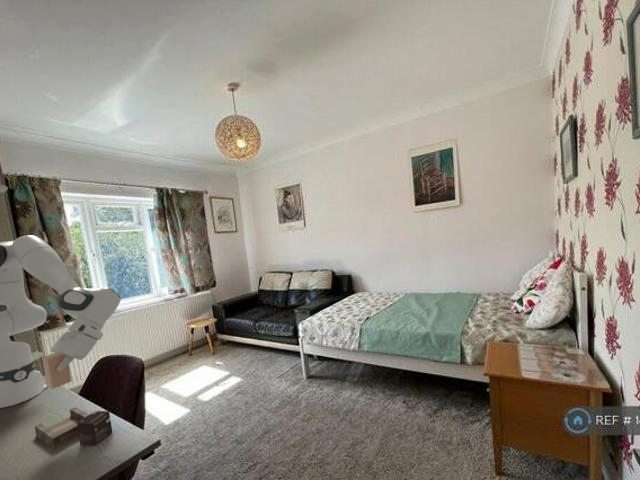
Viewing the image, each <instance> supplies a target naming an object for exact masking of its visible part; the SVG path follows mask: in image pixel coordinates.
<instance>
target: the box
mask: <svg viewBox="0 0 640 480" xmlns="http://www.w3.org/2000/svg"><path fill="white" fill-rule="evenodd" d="M89 414H90V415H88V416H86V417H85V418H84V419H82V420H81V421H79V422H78V423H77V427H78V433H79V436H78V438H79V439H78V440H79V445H80V446H93V447H96V446H97V445H99V444H100V443H101V442H103V441H104V440H105V439H106V438H108V437H109V436H110V435H112V433H113V427H112V421H111V416H110V411H108V410H104V411H103V410H96V411H93V412H91V413H89Z"/></svg>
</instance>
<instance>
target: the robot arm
mask: <svg viewBox="0 0 640 480" xmlns="http://www.w3.org/2000/svg"><path fill="white" fill-rule="evenodd" d="M23 270H25V272H27V273H28V274H30V275H31V276H32V277H33V278H35V279H37V280H39V281H40V282H42V283H44V284H46V285H47V286H48V287H51V288H52V289H53V290H55V291H56V292H57V293H59V295H60V296H59V298H58V301H57V302H58V304H57V305H58V307H59V308H60V309H61V310H62V311H63V312H65V313H66V314H67V315H69V316H70V317H72V318H73V320H74V321H73V322H72V323H71V324H70V326H69V327H68V329H67V330H68V331H65V332H64V333H63V334H61V336H60V337H58V339H57V340H56V342H54V343H53V345H52V347H51V348H50V352H51V353H53V354H54V353H57V352H59V353H62V354H64V355H66V356H65V358H64V360H63V361H62V362H61V363H60V364H58V365H57V367H56V368H55V370H58V371H63V369H64V368H65V367H66V366H67V365H68V364H69V365H70V364H71V363H72V361H73V360H74V359H75V360H79V361H82V360H83V359H85V358H86V357H87V355H88V354H89V353H90V352H91V351H92V350H93V348H94V347H95V346H96V344H97V342H98V341H100V340H101V339H102V338H103V336H104V333H103V331H102V330H103V328H104V326H105V323H106V322H107V320H109V319H110V318H111V317H112V316H113V314H114V313H115V312H116V310H117V308H118V306H119V305H120V303H121V301H122V298H121V295H119V293H117V292H116V291H115V290H114V289H112V288H109V287H106V286H104V287H100V288H85V287H81V286H80V285H78V284H77V282H76V281H75V280H74V279H73V277H72V276H71V274H70V272H69V270H68V269H67V267H66V266H65V263H64V261H63V260H62V259H61V257H60V255H59V254H58V253H57V251H56V250H54V248H53V247H52V246H51V245H49V244H48V243H47V242H46V241H45V240H43V239H41V238H40V237H38V236H36V235H30V234H29V235H27V234H26V235H23V236H19V237H18V238H16V239H14V240H10V241H8V240H7V241H1V242H0V305H2V306H6V310H3V311H0V409H2V408H7V407H10V406H15V405H17V404H21V403H23V402H25V401H28V400H31V399H32V398H35V397H36V396H38V395H40V394H41V393H42V392H43V391H44V390H46V389H47V388H48V387H47V384H46V383H44V382H43V379H42V378H43V377H42V373H41V371H40V370H37V369H36V363H35V362H34V360H33V355H32V351H31V350H32V349H31V346H30V344H29V343H27V342H23V341H12V339H11V338H10V337H11V336H14V335H16V334H21V333H23V332H27V331H30V330H33V329H36V328H38V327H41V326H42V325H44V324H45V322H46V320H47V318H48V313H47V311H46V309H45V308H44V307H43V306H41V305H38V304H37V303H36V304H35V303H34V302H32V301H31V300H30V299H29V298H28V296H27V294H26V291H25V282H24V281H25V280H24V279H25V278H24V271H23Z"/></svg>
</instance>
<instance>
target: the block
mask: <svg viewBox="0 0 640 480" xmlns="http://www.w3.org/2000/svg"><path fill="white" fill-rule="evenodd" d="M65 356H66V355H64V354H62V353H59V352H57V353H54V352H53V353H51V354H48V355H45V356H42V357H41V361H42V365H43V373H44V378H45V384H47V388H49V389H51V390H54V389H56V388H58V387H61V386H64V385H66V384H69V383H71V382H72V376H71V370H70V363H69V364H68V365H67V366H66V367H65V368H64V369H63V371H58V370H55V368H56V367H57V365H58V364H60V363H61V362H62V361H63V360H64V358H65Z"/></svg>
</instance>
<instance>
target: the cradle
mask: <svg viewBox="0 0 640 480" xmlns="http://www.w3.org/2000/svg"><path fill="white" fill-rule="evenodd" d="M90 414H91V413H88V412H86V411H84V410H82V409H79V408H78V407H76V406H74V407H71V408H70V409H69V416H68V417H66V418H63V419H62V420H59V421H58V422H56V423H54V424H52V425H50V426H48V427H47V426H45V425H44V424H43V423H41V422H40V423H37V424H36V425H34V431H35V436H36V437H37V438H38V439H39V440H41V441H42V442H43V443H45V444H46V445H47V446H49V447H50V448H52V449H53V450H56V449H59V448H60V447H62V446H64V445H66V444H68V443H70V442H71V441H73V440H75V439H77V438H79V433H78V427H77V423H78V422H79V421H81V420H82V419H84V418H85V417H86V416H88V415H90Z"/></svg>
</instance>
